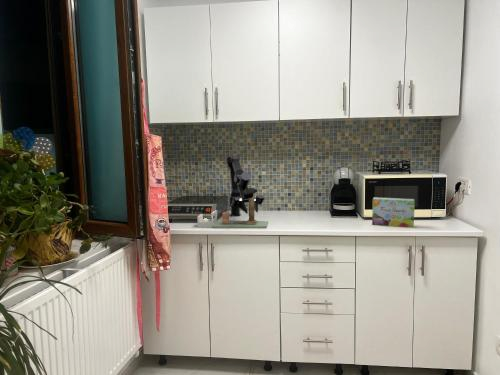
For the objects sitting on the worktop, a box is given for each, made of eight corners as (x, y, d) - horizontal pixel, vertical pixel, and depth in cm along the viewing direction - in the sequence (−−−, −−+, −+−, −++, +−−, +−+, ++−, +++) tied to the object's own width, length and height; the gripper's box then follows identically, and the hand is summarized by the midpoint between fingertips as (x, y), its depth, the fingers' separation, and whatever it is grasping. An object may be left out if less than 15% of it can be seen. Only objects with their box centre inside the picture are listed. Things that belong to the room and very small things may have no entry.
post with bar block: (223, 222, 211) (222, 197, 210) (256, 222, 209) (256, 197, 207) (221, 223, 206) (220, 198, 205) (255, 224, 204) (255, 198, 202)
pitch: (203, 222, 217) (202, 209, 216) (268, 222, 213) (267, 209, 212) (197, 227, 203) (196, 213, 203) (266, 228, 199) (266, 213, 198)
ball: (202, 218, 212) (208, 217, 211) (203, 225, 212) (210, 223, 212) (200, 219, 208) (207, 218, 207) (202, 226, 208) (208, 225, 208)
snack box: (371, 225, 201) (372, 198, 200) (372, 223, 207) (373, 196, 205) (413, 228, 193) (414, 200, 191) (413, 225, 198) (414, 198, 196)
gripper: (232, 183, 204) (240, 205, 195) (262, 181, 211) (271, 202, 203) (228, 195, 212) (235, 217, 203) (257, 193, 219) (265, 214, 211)
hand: (252, 212), depth 205 cm, fingers open, 6 cm apart
